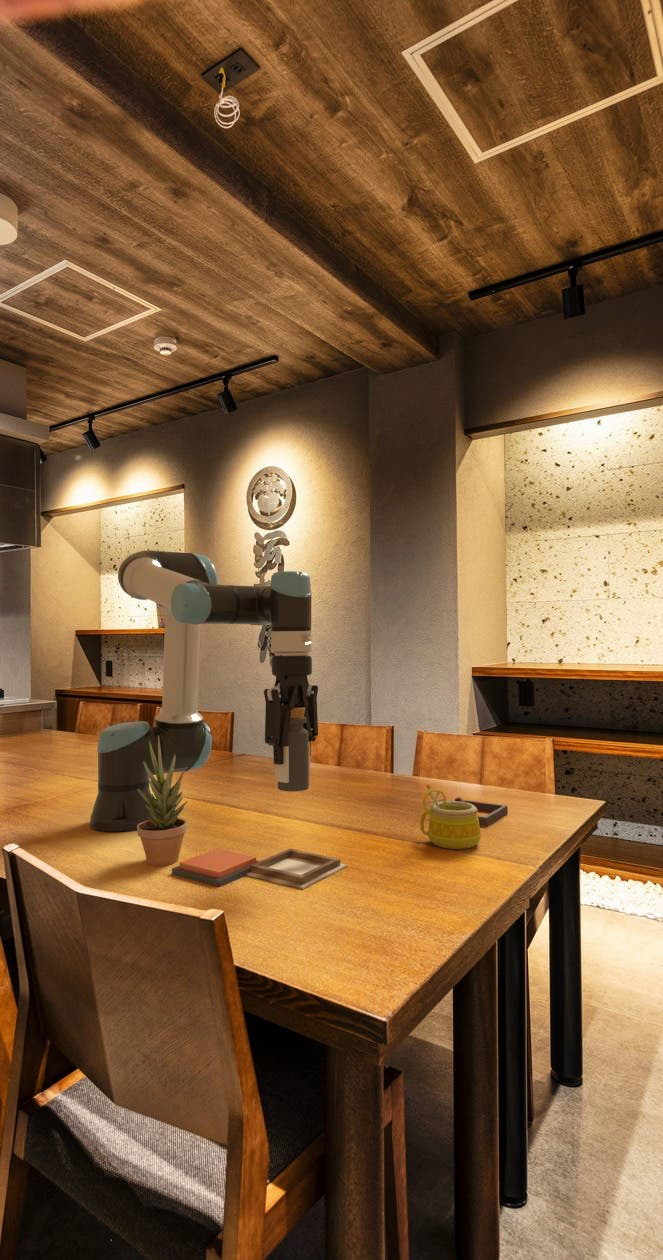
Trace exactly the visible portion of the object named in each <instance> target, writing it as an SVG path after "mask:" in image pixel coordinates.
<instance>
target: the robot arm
mask: <svg viewBox="0 0 663 1260" xmlns="http://www.w3.org/2000/svg"><path fill="white" fill-rule="evenodd" d="M310 576H311V575H309V574H308V573H307V572H304V571H298V570H297V571H294V570H292V571H291V570H287V571H286V570H284V571H277V572H274V573H272V575H271V576H270V583H269V585H264V586H263V585H262V586H257V585H254V586H253V585H252V586H251V585H234V584H218V583H219V581H218V575H217V570H216V568H215V565H214V564H213V561H212V560H211V559H210V558H209V557H208V556H206V555H203V554H199V553H192V552H180V551H179V552H177V551H164V550H163V551H162V550H161V551H160V550H151V549H150V550H141V551H137V552H135V553H132V554H131V555H128V556H127V557H126V558H124V560H123V561H122V562H121V564H120V565H119V568H118V571H117V580H118V584H119V585H120V587H121V590H122V591H123V592H124V593H125V594H127V595H128V596H130V597H132V598H134V599H136V600H140V601H141V600H142V601H146V600H149V601H152V602H153V603H156V604H158V608H160V609H161V611H162V612H163V613H164V639H163V640H164V641H163V642H164V643H163V670H162V672H163V673H162V701H161V703H162V704H161V711H160V712H159V713H158V714H157V715H156V716H155V722H154V725H153V726H151V725H150V723H149V722H148V721H144V720H141V721H140V720H137V721H129V722H122V723H118V724H113V725H111V726H107V727H105V728H104V729H102V730H101V731H100V732H99V734H98V742H97V749H96V752H97V789H98V790H97V795H96V798H95V801H94V805H93V808H92V812H91V813H90V818H89V820H90V821H89V822H90V823H89V825H90V828H92V829H93V830H95V831H101V832H110V833H111V832H113V833H114V832H127V831H128V832H129V831H135V830H137V825H138V824H140V823H142V822H145V821H148V820H149V818H148V816H149V817H151V818H152V816H151V814H150V811H149V810H148V809H147V808H146V805H147V806H148V807H149V808H150V805H149V804H148V803H147V802H146V801H145V800H144V798H143V797H142V796H141V795H140V793H139V792H138V789H139V790H140V791H141V792H142V793H143V792H145V793H146V794H147V795H149V796H151V797H152V793H151V789H150V788H151V787H150V783H149V780H150V778H149V776H148V774H147V771H146V769H145V766H144V762H145V764H146V765H147V767H148V769H149V770H150V772H151V773H152V775H153V776H156V774H155V770H154V767H153V763H152V758H151V753H150V747H149V741H150V743H151V746H152V749H153V752H154V755H155V758H156V761H157V764H158V768H159V763H158V735H159V740H160V749H161V759H162V764H163V771H164V775H165V774H167V772H168V771H169V769H170V766H171V763H172V760H173V758H174V755H175V765H174V771H173V773H179V772H180V773H182V772H183V770H184V773H187V772H188V771H192V770H197V769H200V768H202V767H203V766H204V765H205V763H207V762H208V759H209V758H210V755H211V751H212V744H213V743H212V742H213V741H212V740H213V738H212V735H211V729H210V727H209V725H208V724H207V723H205V722H204V716H202V714H201V713H199V710H198V702H199V701H198V699H199V673H200V646H201V624H202V625H204V624H205V625H211V624H212V625H214V624H215V625H216V624H217V625H219V624H220V625H223V624H225V625H251V626H263V625H270V624H271V625H270V626H271V632H270V633H271V634H270V635H271V636H270V639H271V640H270V641H271V644H270V645H271V646H270V647H271V648H270V650H271V651H270V652H271V653H273V654H274V655H272V657H271V674H272V676H275V682H274V686H273V687H272V688H264V690H263V695H264V700H265V715H264V716H265V718H264V720H265V722H264V742H265V744H268V746H272V749H273V764H274V782H277V783H278V782H284V783H288V782H289V746H285V744H286V739H287V733H288V727H289V721H290V715H291V710H293V709H294V707H304V708H305V712H304V717H306V723H304V724H303V728H304V729H306V730H307V731H308V739H309V777H311V757H312V749H311V748H312V742H316V740H317V737H318V735H319V723H318V722H319V720H318V719H319V717H318V698H317V697H318V692H319V687H318V685H317V684H316V685H314V684H310V682H309V680H308V676H310V675H312V672H313V666H312V665H313V661H312V660H313V659H312V657H311V655H309V653H311V652H312V595H313V593H312V589H311V587H312V586H311V577H310ZM279 738H280V739H279ZM143 761H144V762H143ZM143 794H144V793H143ZM149 801H150V800H149ZM150 802H151V801H150ZM151 803H152V802H151ZM152 804H153V803H152ZM152 819H153V818H152Z"/></svg>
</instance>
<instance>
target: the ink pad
mask: <svg viewBox="0 0 663 1260" xmlns="http://www.w3.org/2000/svg"><path fill="white" fill-rule="evenodd" d="M259 861H260V860H257V856H252V855H248V854H244V853H239V852H236V851H235V852H234V851H232V850H231V851H230V850H225V849H221V848H215V849H213V850H210V851H207V852H204V853H202V854H199V855H196V856H194V857H191V858H188V859H185V860H182V861H180V862H179V865H178V866H177V865H176V866H174V867H172V868H171V874H172V875H175V876H179V877H182V878H186V879H189V880H193V881H197V882H201V883H204V884H209V885H211V886H215V887H220V888H221V887H223V886H224V885H228V884H230V883H231V882H234V881H235V880H239V879H241V878H243V877H244V876H245V877H246V876H247V875H246V873H249V872H250V865H252V864H254V863H257V862H259Z"/></svg>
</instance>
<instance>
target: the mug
mask: <svg viewBox="0 0 663 1260" xmlns="http://www.w3.org/2000/svg"><path fill="white" fill-rule="evenodd" d="M426 789H427V790H428V791H427V792H426V794H425V795H424V797H423V799H422V805H423V808H424V809H425V811H423V812H422V814H421V816H420V821H419V827H420V832H421V833H422V834H424V835H425V836H428V839H429V841H430V842H431V843H432V844H434V845H435V846H437V847H440V848H443V849H448V850H449V849H450V850H465V849H470V848H473V847H476V846H477V845H478V844H479V843H480V840H481V826H480V825H479V819H478V816H479V815H478V809H477V808H476V807H475V806H474V805H472V804H470V803H466V802H459V801H452V800H447V798H446V795H445V794H444V792H443V791H442V790H440V789H431V786H430V785H429V784H426ZM433 792H436V795H435V794H434V793H433ZM440 794H441V795H442V796H443V799H439V800H438V798H439V795H440ZM428 795H429V797H430V799H432V801H426V799H427V797H428ZM428 804H432V805H431V806H430V809H427V807H426V805H428ZM427 815H429V821H428V830H426V829H425V825H424V822H425V817H426V816H427Z"/></svg>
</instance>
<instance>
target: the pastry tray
mask: <svg viewBox="0 0 663 1260" xmlns="http://www.w3.org/2000/svg"><path fill="white" fill-rule="evenodd" d="M453 800H455V798H454V799H453ZM453 800H451V801H453ZM464 800H465V802H466V803H470V804H472V805H474V806H475V807H476V808H477V809H478V811H480V812H484V813H485V812H487V813H489V814H487V815H485V816H483V815H478V819H479V825H480V827H481V826H482V827H486V828H487V827H489V826H491V825H492V824H494V823H495V822H497V821H499V820H500V819H502V818H503V817H505V816H507V815H508V814H509V812H508V811H509V810H508V809H509V808H508V805H506V804H498V803H492V802H491V803H490V802H483V801H476V800H470V799H469V800H468V799H464ZM478 811H477V812H478Z"/></svg>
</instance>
